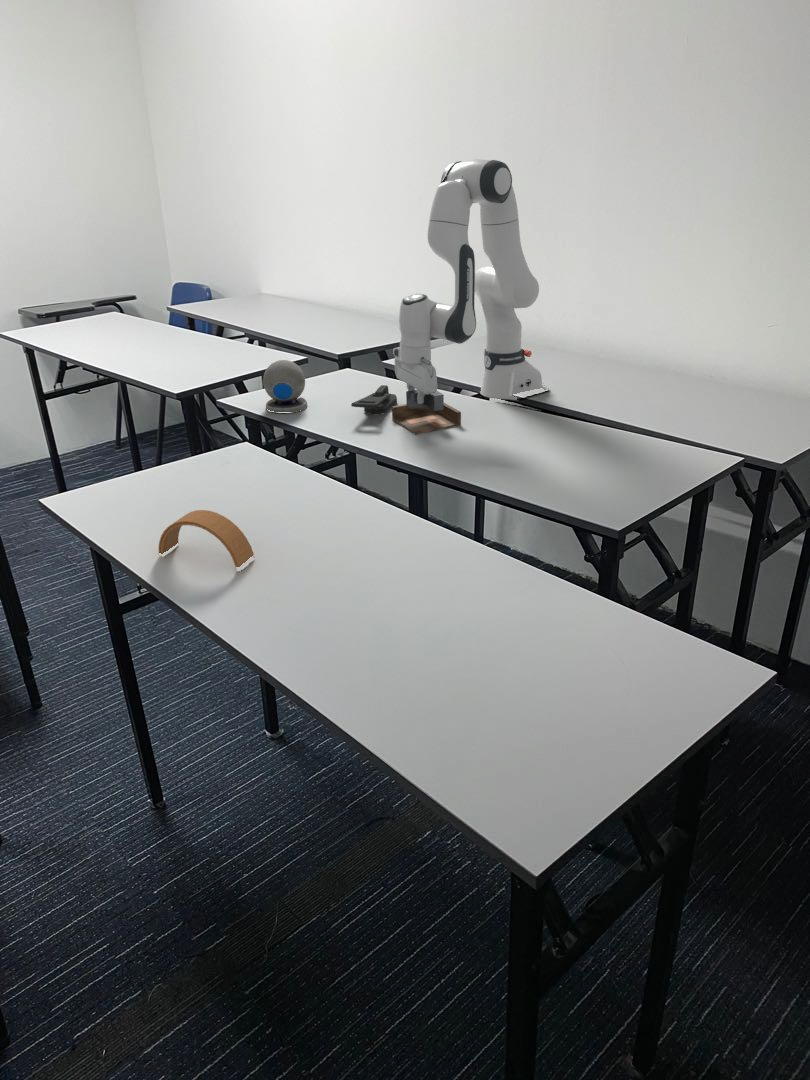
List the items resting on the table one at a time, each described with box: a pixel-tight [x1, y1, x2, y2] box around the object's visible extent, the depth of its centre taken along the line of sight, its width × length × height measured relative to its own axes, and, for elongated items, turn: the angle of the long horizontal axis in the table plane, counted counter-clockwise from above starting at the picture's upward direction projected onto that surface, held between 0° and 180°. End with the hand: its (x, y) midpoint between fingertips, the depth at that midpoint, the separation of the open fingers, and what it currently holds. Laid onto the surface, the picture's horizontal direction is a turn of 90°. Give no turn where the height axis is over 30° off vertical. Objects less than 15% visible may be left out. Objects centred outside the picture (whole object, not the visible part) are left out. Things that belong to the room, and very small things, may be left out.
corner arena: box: [391, 402, 462, 435], centre depth 241 cm, size 15×15×4 cm
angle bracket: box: [405, 389, 445, 411], centre depth 237 cm, size 8×8×4 cm
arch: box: [158, 509, 255, 568], centre depth 168 cm, size 6×20×10 cm, turn 67°
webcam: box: [262, 359, 308, 413], centre depth 255 cm, size 13×13×15 cm
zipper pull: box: [350, 384, 398, 415], centre depth 250 cm, size 9×7×25 cm
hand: (416, 401), depth 239 cm, fingers closed on angle bracket, 3 cm apart
